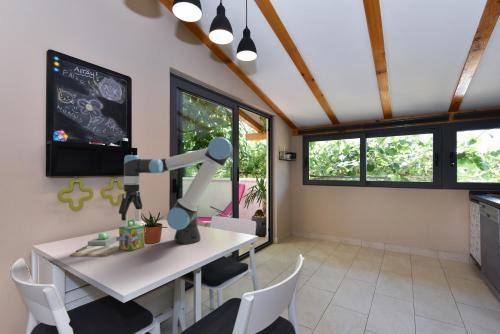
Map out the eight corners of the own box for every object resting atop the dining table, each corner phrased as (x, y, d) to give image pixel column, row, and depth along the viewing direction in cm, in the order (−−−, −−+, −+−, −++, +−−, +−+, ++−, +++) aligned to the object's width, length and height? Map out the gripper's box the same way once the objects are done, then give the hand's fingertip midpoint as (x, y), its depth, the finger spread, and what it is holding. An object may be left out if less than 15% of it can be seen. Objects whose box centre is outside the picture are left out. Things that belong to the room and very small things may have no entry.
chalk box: (130, 251, 126) (130, 222, 126) (118, 249, 130) (118, 221, 130) (145, 246, 135) (145, 219, 135) (133, 244, 139) (133, 218, 139)
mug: (123, 238, 151) (123, 223, 151) (133, 234, 160) (133, 219, 160) (142, 238, 149) (142, 223, 149) (150, 235, 158) (150, 220, 158)
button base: (116, 241, 144) (116, 236, 144) (105, 247, 134) (105, 241, 134) (99, 241, 144) (99, 236, 144) (87, 246, 134) (87, 241, 134)
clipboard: (121, 247, 133) (121, 245, 133) (106, 256, 120) (106, 253, 120) (88, 247, 133) (88, 244, 133) (69, 256, 120) (69, 253, 120)
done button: (108, 239, 141) (108, 232, 141) (103, 241, 137) (103, 234, 137) (101, 239, 141) (101, 232, 141) (96, 241, 137) (96, 234, 137)
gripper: (136, 182, 145) (135, 218, 145) (110, 185, 120) (110, 229, 120) (148, 182, 145) (148, 218, 145) (126, 185, 120) (125, 229, 120)
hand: (131, 223), depth 133 cm, fingers open, 13 cm apart
